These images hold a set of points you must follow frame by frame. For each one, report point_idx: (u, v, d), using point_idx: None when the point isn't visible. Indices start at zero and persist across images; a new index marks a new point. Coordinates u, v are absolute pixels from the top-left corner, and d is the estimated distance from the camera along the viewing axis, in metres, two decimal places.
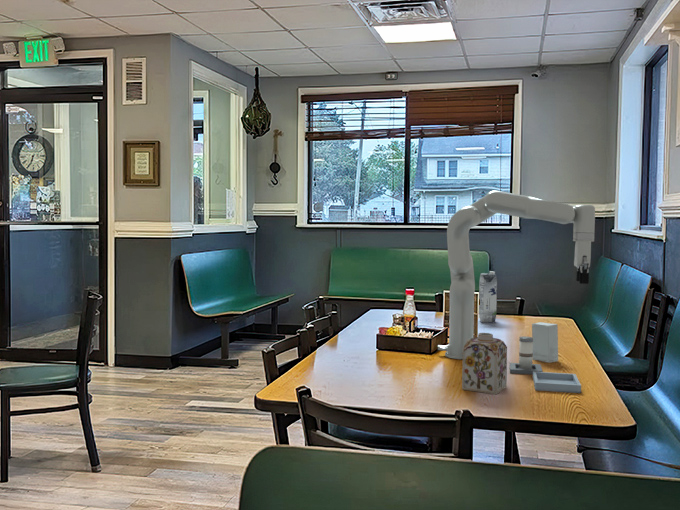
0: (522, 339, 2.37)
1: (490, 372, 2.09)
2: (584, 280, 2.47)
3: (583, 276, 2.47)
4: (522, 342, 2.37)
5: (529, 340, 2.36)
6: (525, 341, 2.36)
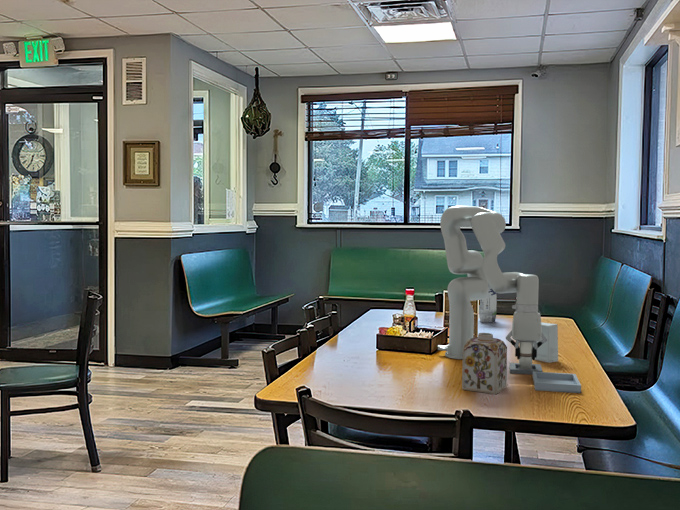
0: None
1: (490, 372, 2.09)
2: None
3: (536, 352, 2.37)
4: (522, 342, 2.37)
5: None
6: (525, 341, 2.36)
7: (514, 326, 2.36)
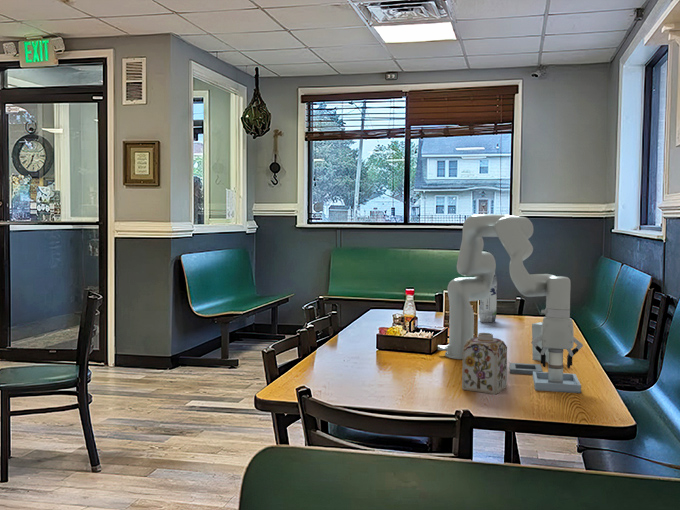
0: (551, 349, 2.18)
1: (490, 372, 2.09)
2: (571, 364, 2.19)
3: None
4: (552, 353, 2.18)
5: (559, 350, 2.17)
6: (555, 352, 2.18)
7: (544, 333, 2.18)
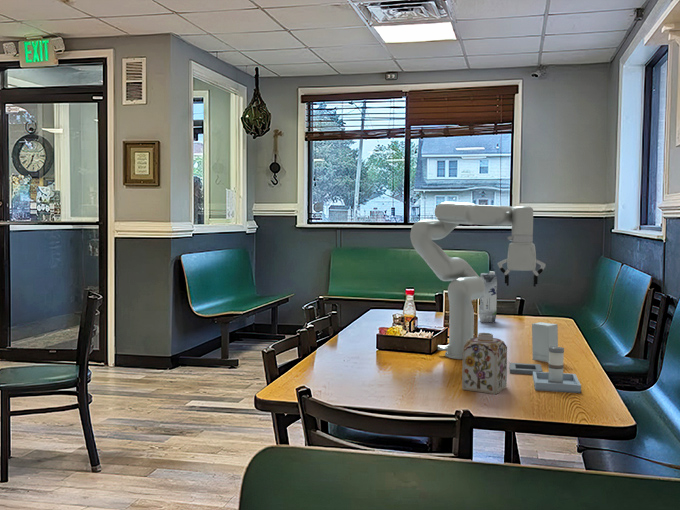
0: (552, 349, 2.18)
1: (490, 372, 2.09)
2: None
3: None
4: (552, 353, 2.18)
5: (560, 351, 2.17)
6: (555, 352, 2.18)
7: (509, 256, 2.44)
